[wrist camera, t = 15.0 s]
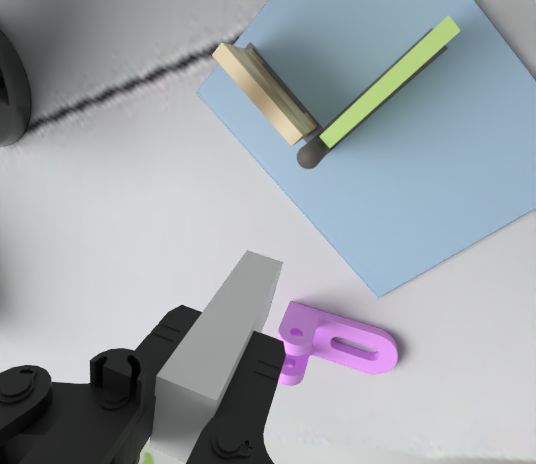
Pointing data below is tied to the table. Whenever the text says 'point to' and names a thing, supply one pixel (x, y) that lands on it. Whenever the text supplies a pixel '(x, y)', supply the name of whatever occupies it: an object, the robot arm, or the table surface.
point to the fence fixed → (272, 101)
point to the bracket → (331, 343)
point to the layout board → (392, 129)
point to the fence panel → (391, 80)
